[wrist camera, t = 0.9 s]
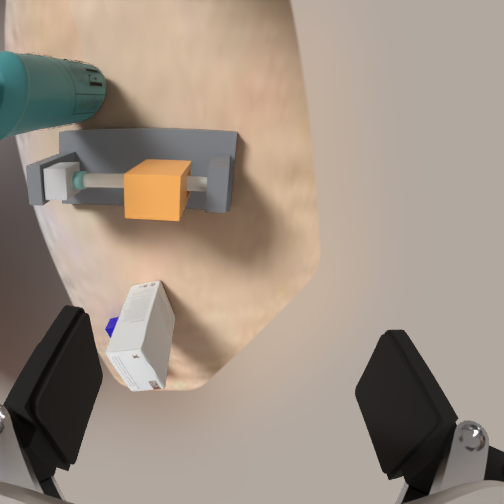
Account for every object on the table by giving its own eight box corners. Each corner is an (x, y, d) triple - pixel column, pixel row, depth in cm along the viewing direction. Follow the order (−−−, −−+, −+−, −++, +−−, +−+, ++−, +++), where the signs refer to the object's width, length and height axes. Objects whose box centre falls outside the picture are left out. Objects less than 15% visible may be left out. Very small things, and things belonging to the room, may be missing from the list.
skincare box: (130, 285, 37) (99, 352, 26) (162, 278, 36) (140, 347, 26) (148, 323, 39) (127, 393, 28) (179, 318, 39) (165, 390, 28)
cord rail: (65, 130, 28) (21, 142, 20) (236, 131, 30) (238, 139, 22) (68, 199, 31) (28, 227, 23) (229, 206, 33) (229, 239, 25)
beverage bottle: (125, 89, 27) (-2, 81, 9) (85, 135, 28) (-50, 183, 10) (89, 53, 24) (-44, 24, 6) (51, 99, 26) (-88, 120, 8)
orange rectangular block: (146, 159, 25) (123, 174, 20) (191, 160, 26) (180, 176, 20) (146, 194, 26) (124, 218, 21) (189, 196, 27) (179, 221, 21)
